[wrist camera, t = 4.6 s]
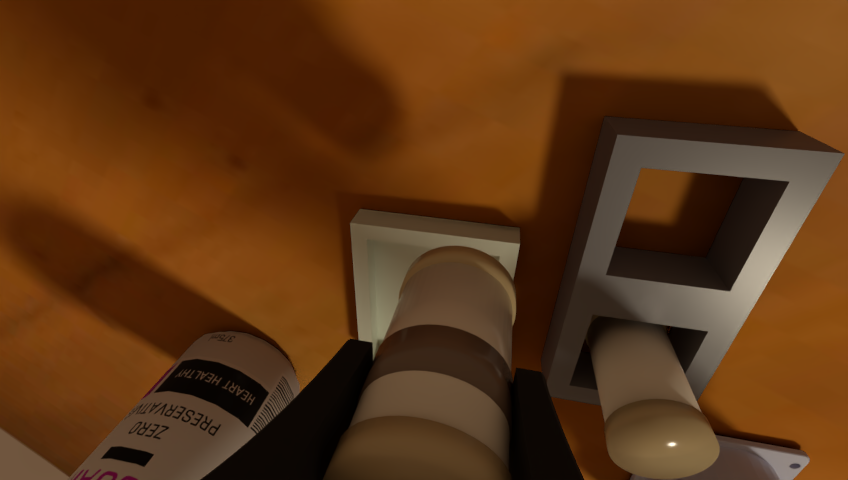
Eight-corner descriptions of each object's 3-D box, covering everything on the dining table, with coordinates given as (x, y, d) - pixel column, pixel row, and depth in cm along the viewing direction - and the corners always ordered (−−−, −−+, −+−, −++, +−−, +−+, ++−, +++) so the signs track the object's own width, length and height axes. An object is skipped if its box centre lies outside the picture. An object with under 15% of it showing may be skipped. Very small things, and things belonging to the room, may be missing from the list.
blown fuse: (506, 343, 15) (498, 580, 9) (403, 325, 15) (329, 536, 9) (525, 254, 13) (529, 485, 7) (405, 237, 13) (312, 436, 7)
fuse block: (669, 380, 23) (685, 420, 21) (540, 359, 24) (543, 395, 22) (799, 131, 15) (844, 153, 13) (604, 116, 16) (617, 134, 14)
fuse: (648, 355, 22) (696, 487, 16) (575, 344, 23) (596, 467, 17) (673, 301, 20) (738, 429, 14) (592, 290, 21) (623, 409, 15)
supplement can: (250, 413, 33) (82, 678, 20) (175, 341, 30) (-77, 600, 17) (326, 393, 29) (183, 695, 17) (251, 310, 26) (8, 603, 14)
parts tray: (494, 370, 25) (493, 390, 24) (368, 348, 26) (360, 366, 25) (519, 227, 20) (520, 244, 18) (360, 208, 21) (349, 222, 19)
